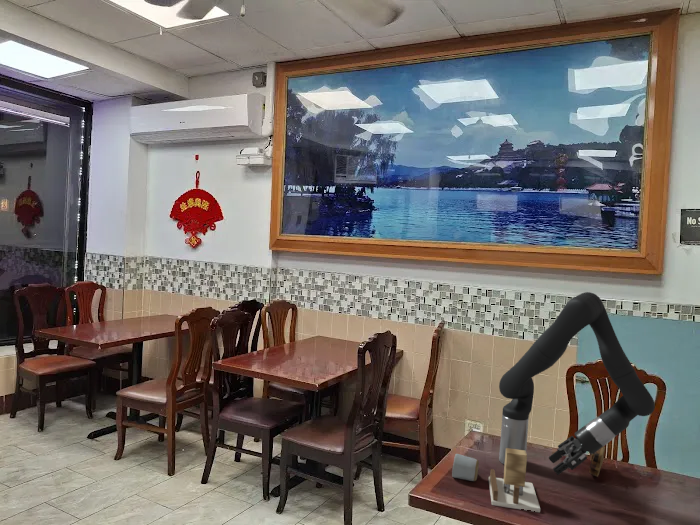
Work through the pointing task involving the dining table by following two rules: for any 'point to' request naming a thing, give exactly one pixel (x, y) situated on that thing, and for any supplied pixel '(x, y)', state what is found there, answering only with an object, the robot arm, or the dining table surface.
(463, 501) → the dining table surface
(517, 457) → the oak block
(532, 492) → the peg stand
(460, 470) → the ceramic mug
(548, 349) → the robot arm
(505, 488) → the pegs
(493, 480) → the walnut frame
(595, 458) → the wooden carving
